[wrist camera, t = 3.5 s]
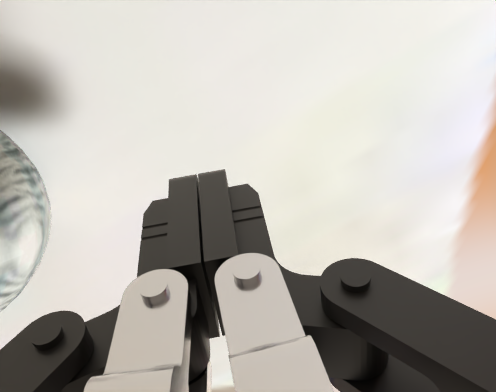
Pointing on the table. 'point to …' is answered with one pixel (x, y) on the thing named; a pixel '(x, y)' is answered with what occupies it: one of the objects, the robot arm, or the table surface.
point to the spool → (20, 220)
